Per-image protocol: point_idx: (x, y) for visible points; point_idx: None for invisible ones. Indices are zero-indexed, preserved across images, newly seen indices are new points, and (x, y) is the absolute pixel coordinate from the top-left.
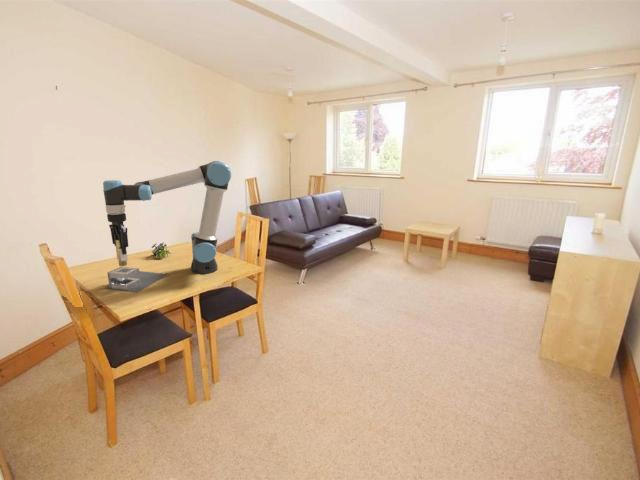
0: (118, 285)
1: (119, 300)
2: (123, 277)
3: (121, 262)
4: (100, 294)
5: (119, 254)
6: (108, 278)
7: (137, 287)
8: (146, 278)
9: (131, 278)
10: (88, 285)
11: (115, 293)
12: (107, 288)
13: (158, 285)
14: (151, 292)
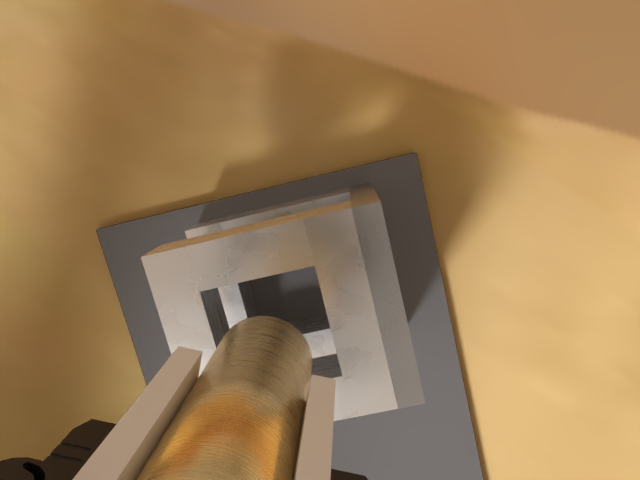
0: (275, 208)
1: (95, 75)
2: (187, 241)
3: (220, 345)
4: (341, 76)
5: (196, 406)
6: (372, 192)
7: None
8: None
9: None
10: (623, 149)
11: (250, 148)
12: (386, 172)
13: (102, 402)
14: (27, 289)
